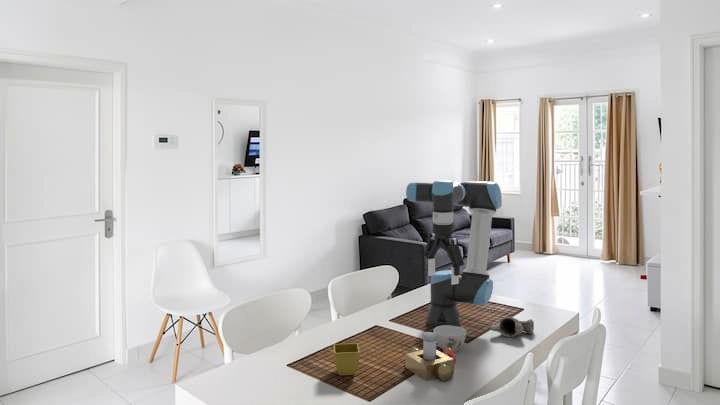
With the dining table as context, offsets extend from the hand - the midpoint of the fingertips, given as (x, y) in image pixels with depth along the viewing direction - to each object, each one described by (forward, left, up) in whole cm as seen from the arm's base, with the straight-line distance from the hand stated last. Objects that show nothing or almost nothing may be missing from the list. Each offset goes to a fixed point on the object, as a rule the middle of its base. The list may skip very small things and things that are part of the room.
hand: (443, 279), depth 191 cm
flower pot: (-5, -38, -30) cm, 48 cm away
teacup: (-3, +5, -30) cm, 30 cm away
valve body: (+8, -10, -29) cm, 32 cm away
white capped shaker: (+8, -12, -28) cm, 32 cm away
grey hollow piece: (-2, +40, -30) cm, 50 cm away
